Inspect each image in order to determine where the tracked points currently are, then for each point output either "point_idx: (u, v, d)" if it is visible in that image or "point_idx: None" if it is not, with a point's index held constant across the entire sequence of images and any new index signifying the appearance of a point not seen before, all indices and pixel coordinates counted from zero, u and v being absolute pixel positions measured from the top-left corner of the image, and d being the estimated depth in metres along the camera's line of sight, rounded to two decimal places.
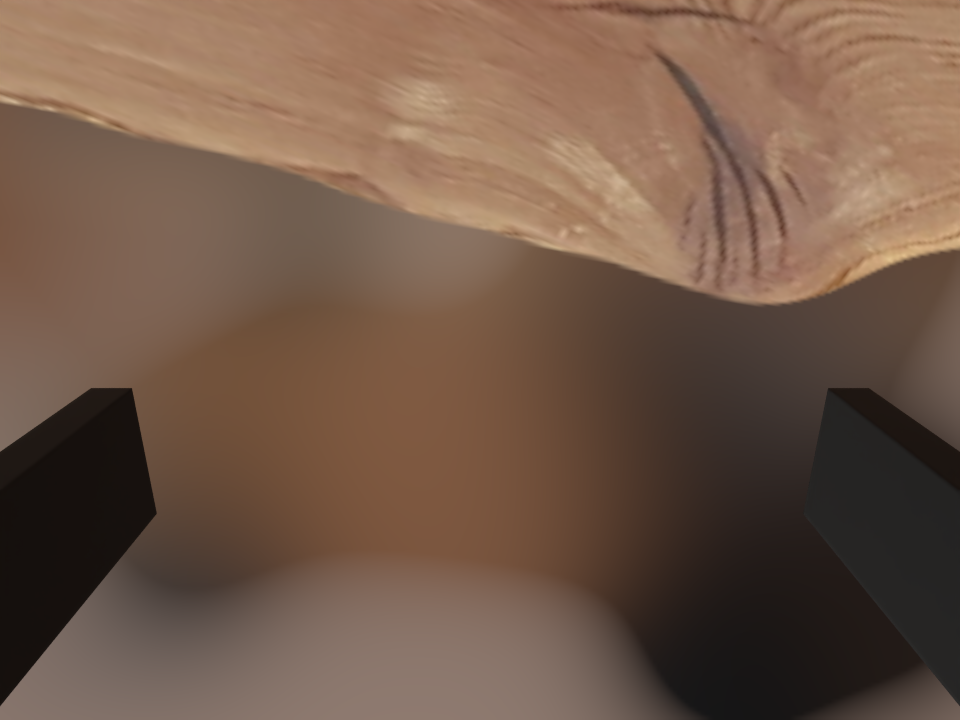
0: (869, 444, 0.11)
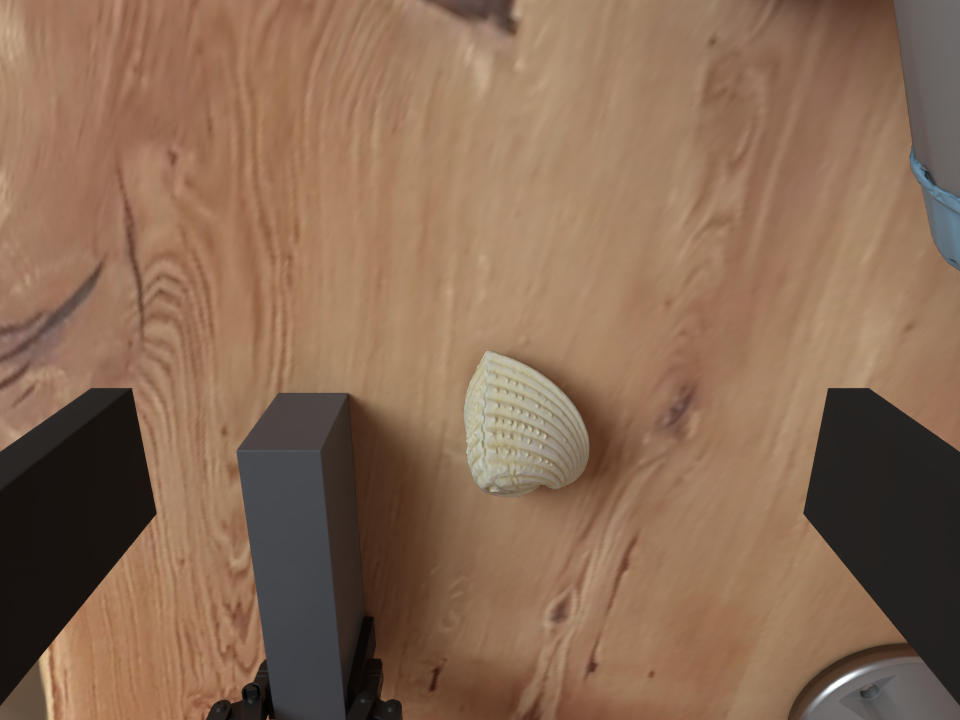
0: (869, 444, 0.11)
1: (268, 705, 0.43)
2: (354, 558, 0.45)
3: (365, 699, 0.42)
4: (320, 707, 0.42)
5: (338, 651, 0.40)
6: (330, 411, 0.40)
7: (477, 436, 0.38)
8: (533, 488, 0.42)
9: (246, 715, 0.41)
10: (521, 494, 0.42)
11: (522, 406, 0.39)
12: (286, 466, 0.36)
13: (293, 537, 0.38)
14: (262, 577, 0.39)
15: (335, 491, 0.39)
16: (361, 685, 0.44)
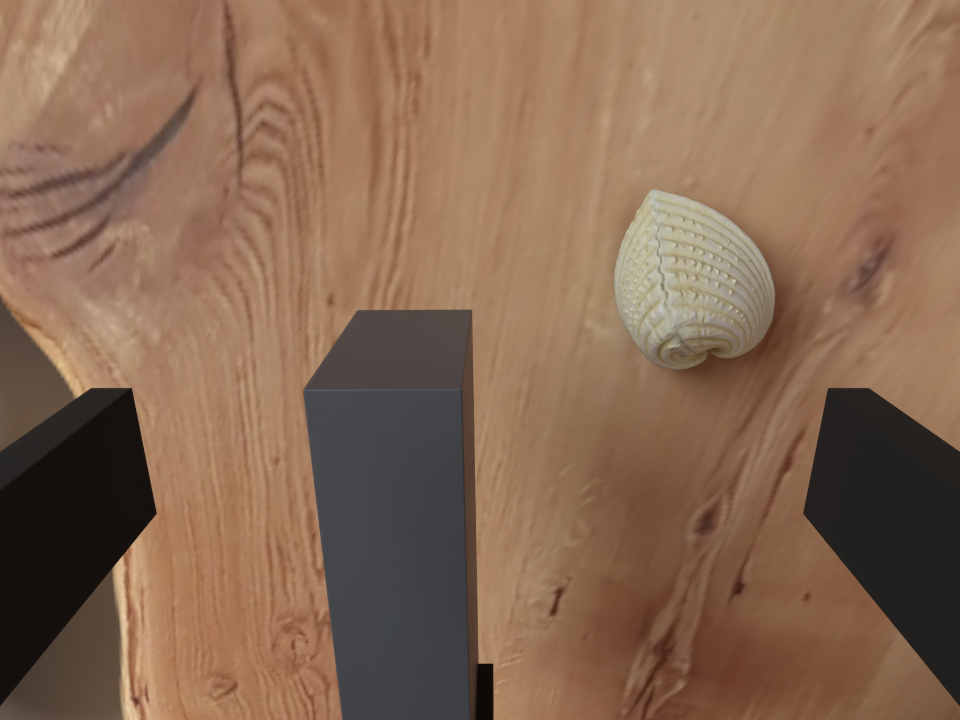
0: (868, 444, 0.11)
1: None
2: None
3: None
4: None
5: None
6: (453, 332, 0.24)
7: (652, 280, 0.31)
8: (700, 359, 0.36)
9: None
10: (686, 366, 0.35)
11: (702, 247, 0.32)
12: (396, 421, 0.19)
13: (401, 550, 0.21)
14: (344, 619, 0.22)
15: (468, 469, 0.22)
16: None
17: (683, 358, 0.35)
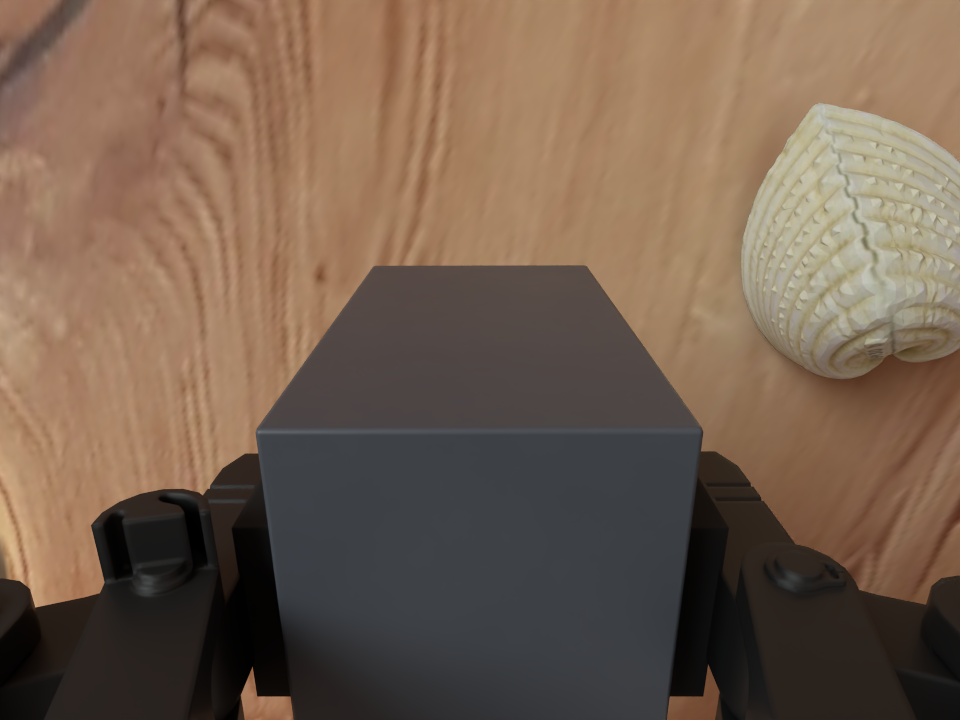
0: None
1: None
2: None
3: None
4: None
5: None
6: (580, 300, 0.11)
7: (842, 234, 0.20)
8: (876, 363, 0.24)
9: None
10: (857, 373, 0.24)
11: (913, 186, 0.20)
12: (511, 514, 0.07)
13: None
14: None
15: None
16: None
17: (857, 362, 0.23)
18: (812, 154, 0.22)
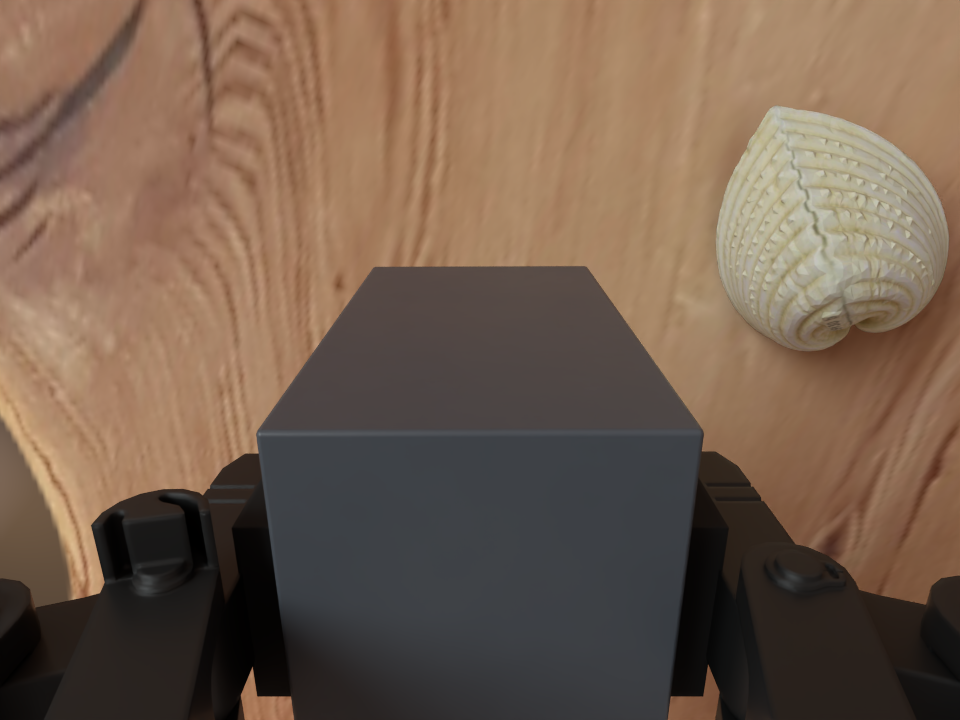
0: None
1: None
2: None
3: None
4: None
5: None
6: (581, 301, 0.11)
7: (796, 222, 0.22)
8: (842, 335, 0.26)
9: None
10: (825, 345, 0.26)
11: (859, 176, 0.23)
12: (512, 516, 0.07)
13: None
14: None
15: None
16: None
17: (823, 335, 0.26)
18: (770, 152, 0.24)
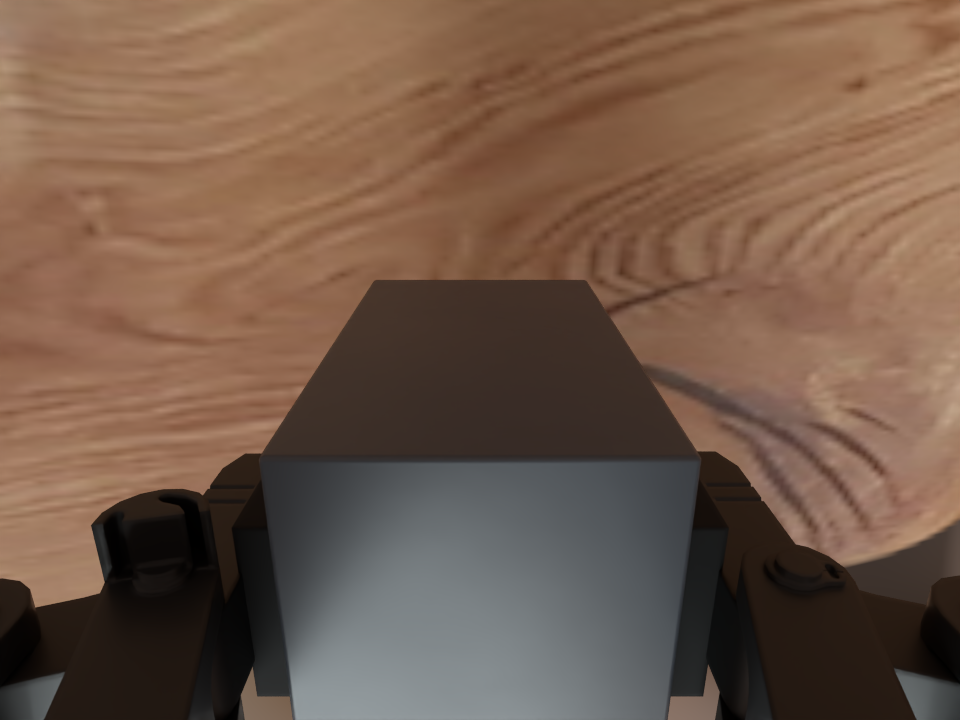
0: None
1: None
2: None
3: None
4: None
5: None
6: (580, 317, 0.11)
7: None
8: None
9: None
10: None
11: None
12: (512, 539, 0.07)
13: None
14: None
15: None
16: None
17: None
18: None
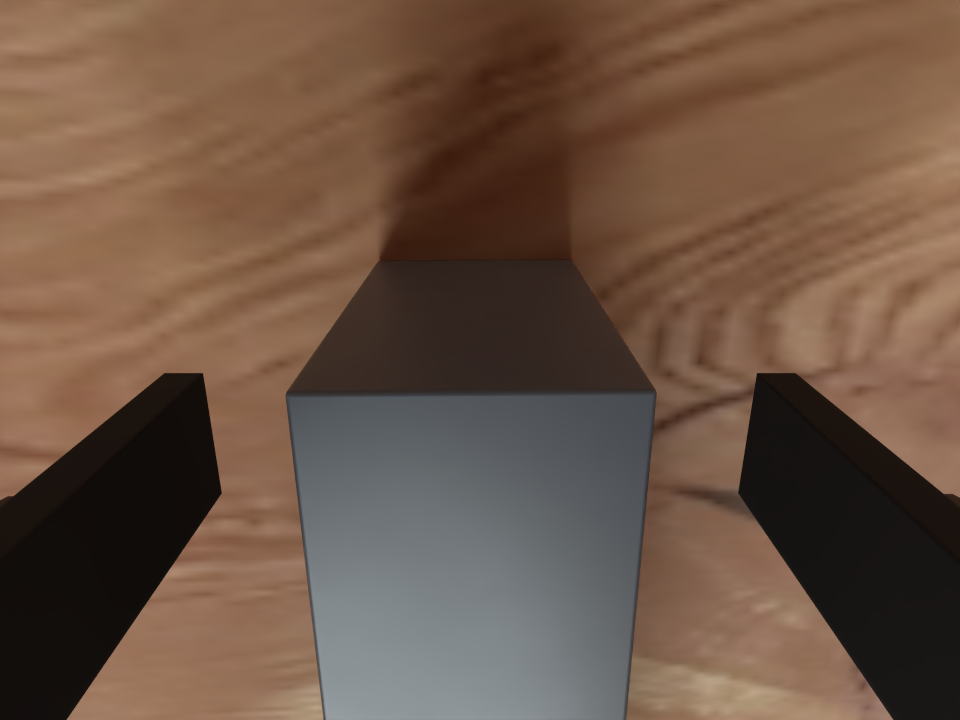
0: (787, 424, 0.12)
1: None
2: None
3: None
4: None
5: None
6: (563, 289, 0.13)
7: None
8: None
9: None
10: None
11: None
12: (499, 463, 0.08)
13: None
14: None
15: None
16: None
17: None
18: None
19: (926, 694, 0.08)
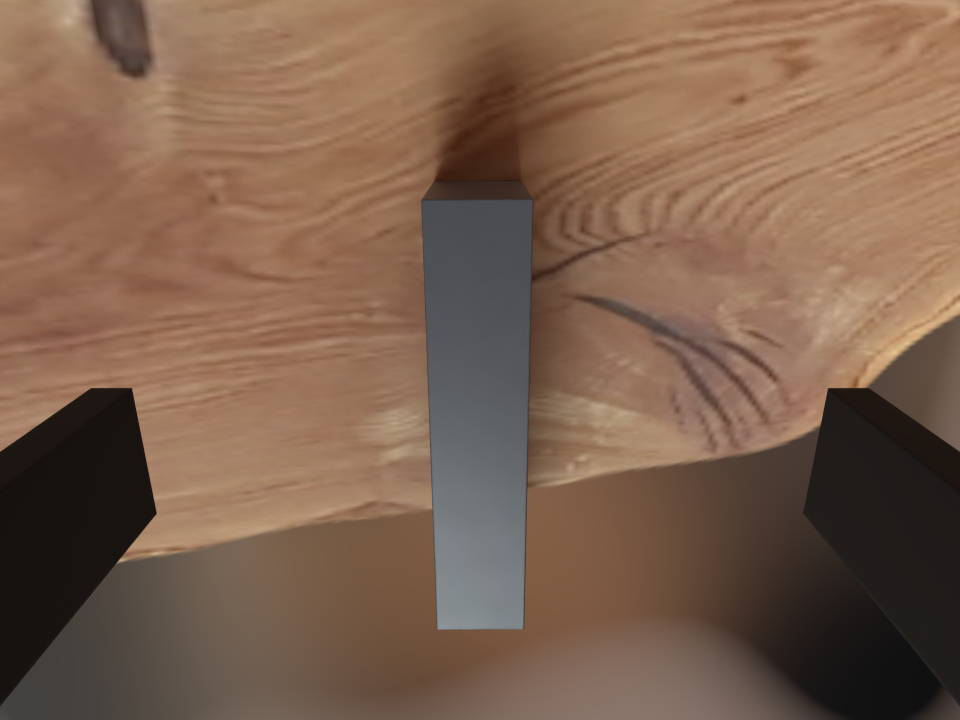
0: (868, 444, 0.11)
1: None
2: None
3: None
4: (494, 570, 0.33)
5: (525, 492, 0.32)
6: (513, 186, 0.32)
7: None
8: None
9: None
10: None
11: None
12: (485, 223, 0.27)
13: (484, 329, 0.29)
14: (438, 387, 0.30)
15: None
16: None
17: None
18: None
19: None
